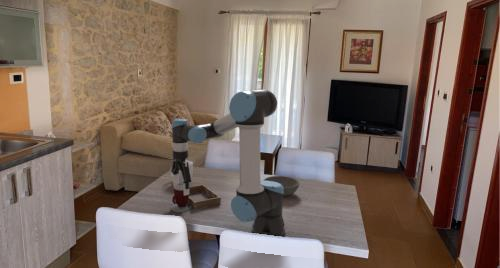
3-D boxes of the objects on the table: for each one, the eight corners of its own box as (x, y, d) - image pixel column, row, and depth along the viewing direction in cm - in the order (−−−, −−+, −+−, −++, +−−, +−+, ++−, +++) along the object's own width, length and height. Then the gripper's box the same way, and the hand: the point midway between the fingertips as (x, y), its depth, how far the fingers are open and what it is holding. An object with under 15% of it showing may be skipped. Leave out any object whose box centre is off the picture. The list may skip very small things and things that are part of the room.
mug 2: (181, 212, 179) (181, 193, 177) (167, 208, 182) (167, 190, 180) (192, 204, 189) (192, 186, 186) (179, 201, 192) (179, 183, 189)
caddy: (220, 204, 192) (220, 197, 191) (194, 209, 183) (194, 202, 183) (203, 190, 209) (203, 184, 208) (178, 195, 201) (178, 188, 200)
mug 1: (165, 183, 219) (165, 162, 216) (175, 178, 229) (175, 158, 226) (187, 187, 214) (187, 166, 211) (195, 181, 224) (196, 161, 221)
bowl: (279, 204, 195) (280, 190, 193) (254, 192, 210) (255, 179, 208) (305, 196, 208) (306, 182, 206) (280, 185, 223) (281, 173, 222)
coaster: (193, 209, 183) (193, 208, 183) (174, 213, 178) (174, 212, 178) (185, 202, 192) (185, 201, 191) (167, 206, 186) (167, 205, 186)
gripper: (197, 154, 170) (198, 197, 174) (178, 144, 190) (178, 182, 195) (183, 156, 166) (183, 200, 170) (164, 145, 186) (165, 184, 191)
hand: (181, 190), depth 182 cm, fingers open, 13 cm apart
